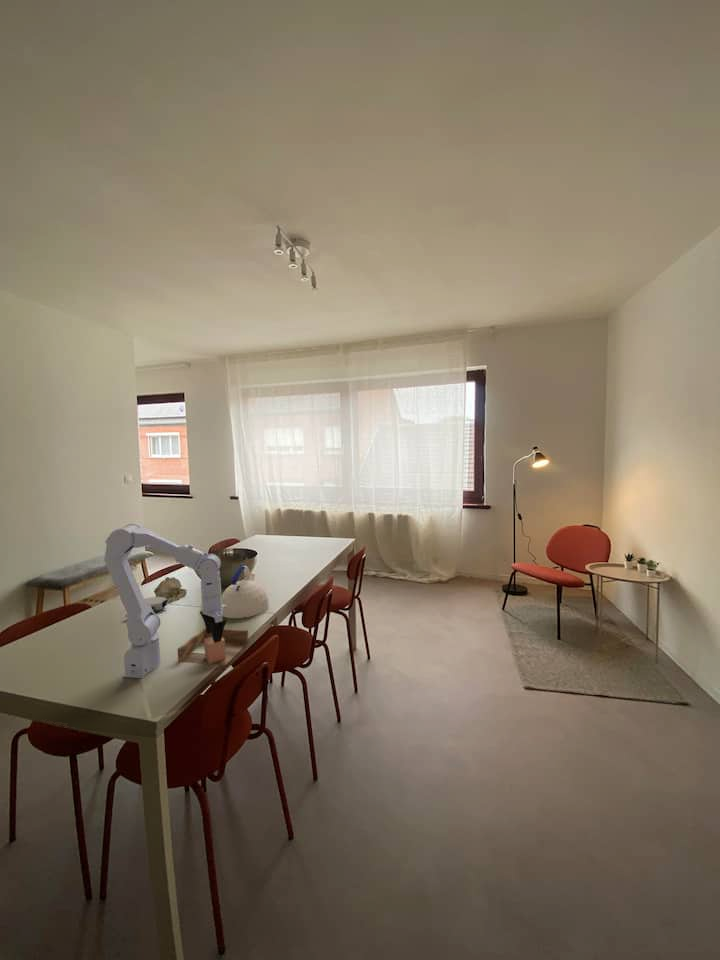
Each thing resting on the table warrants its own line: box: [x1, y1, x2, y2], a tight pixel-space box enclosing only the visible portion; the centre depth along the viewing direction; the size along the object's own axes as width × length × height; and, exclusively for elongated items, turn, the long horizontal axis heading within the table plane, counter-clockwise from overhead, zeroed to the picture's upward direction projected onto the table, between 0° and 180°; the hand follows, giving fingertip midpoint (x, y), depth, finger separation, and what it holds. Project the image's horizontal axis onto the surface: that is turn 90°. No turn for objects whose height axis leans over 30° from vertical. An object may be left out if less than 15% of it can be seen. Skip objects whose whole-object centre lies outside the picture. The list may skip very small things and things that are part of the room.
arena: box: [177, 626, 249, 666], centre depth 128 cm, size 15×16×5 cm
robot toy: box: [125, 596, 171, 618], centre depth 163 cm, size 12×4×15 cm
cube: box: [204, 637, 226, 665], centre depth 123 cm, size 5×5×6 cm
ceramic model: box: [153, 576, 188, 604], centre depth 179 cm, size 14×11×10 cm
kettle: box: [221, 565, 270, 619], centre depth 164 cm, size 20×21×18 cm
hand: (214, 636), depth 123 cm, fingers open, 7 cm apart
